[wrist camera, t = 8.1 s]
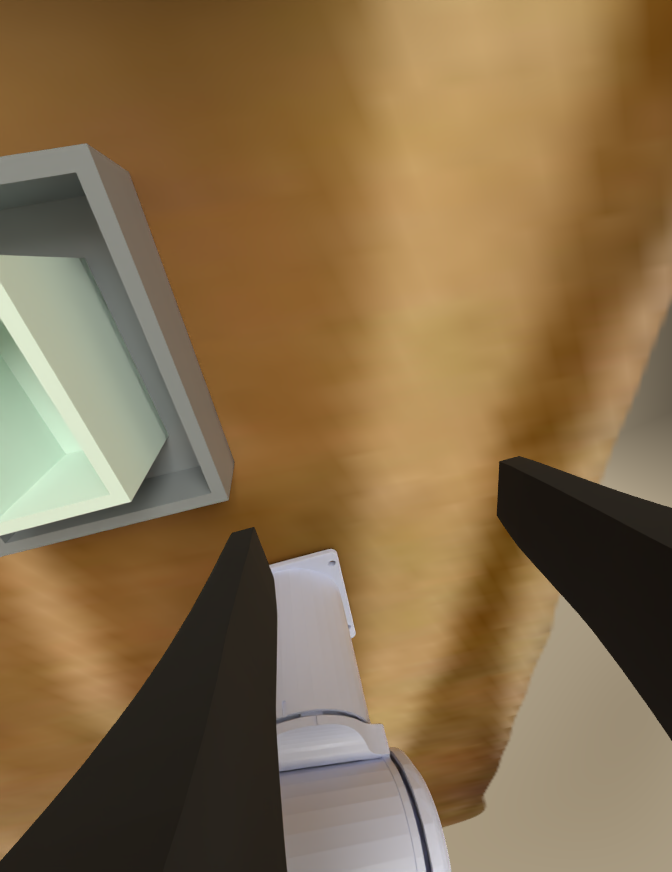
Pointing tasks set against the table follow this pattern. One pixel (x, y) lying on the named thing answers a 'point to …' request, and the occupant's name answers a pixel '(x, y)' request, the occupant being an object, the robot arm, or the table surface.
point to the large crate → (119, 325)
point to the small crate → (66, 397)
